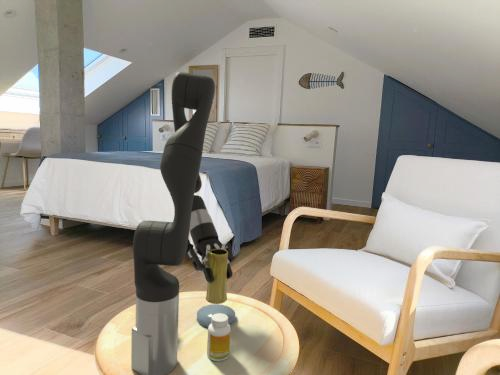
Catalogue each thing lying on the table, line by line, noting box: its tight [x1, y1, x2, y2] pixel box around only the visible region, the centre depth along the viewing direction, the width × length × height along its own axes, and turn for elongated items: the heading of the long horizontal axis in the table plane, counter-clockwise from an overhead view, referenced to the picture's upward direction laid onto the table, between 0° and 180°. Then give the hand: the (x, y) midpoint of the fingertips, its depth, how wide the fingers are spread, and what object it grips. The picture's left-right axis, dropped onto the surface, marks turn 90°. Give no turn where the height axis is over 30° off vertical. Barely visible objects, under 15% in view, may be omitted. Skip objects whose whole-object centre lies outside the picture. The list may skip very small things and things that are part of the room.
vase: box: [205, 248, 228, 305], centre depth 99 cm, size 6×6×14 cm
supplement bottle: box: [206, 313, 232, 362], centre depth 84 cm, size 5×5×10 cm
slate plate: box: [196, 304, 236, 329], centre depth 101 cm, size 11×11×2 cm
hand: (221, 279), depth 98 cm, fingers closed on vase, 5 cm apart
